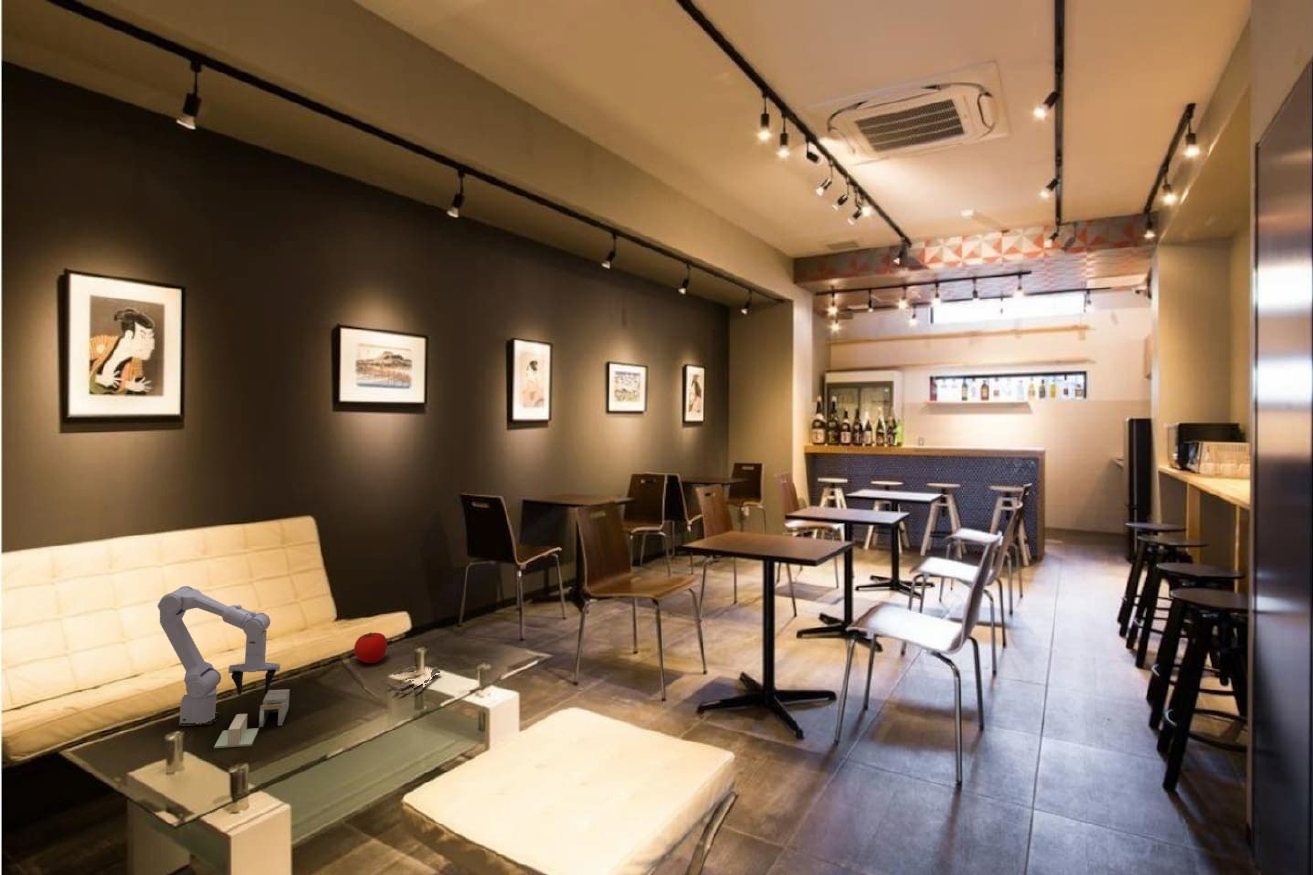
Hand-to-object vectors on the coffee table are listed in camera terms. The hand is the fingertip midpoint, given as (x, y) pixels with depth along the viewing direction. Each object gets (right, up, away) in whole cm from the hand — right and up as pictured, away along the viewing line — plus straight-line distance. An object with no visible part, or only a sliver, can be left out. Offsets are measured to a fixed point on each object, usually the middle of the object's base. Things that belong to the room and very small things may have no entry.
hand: (253, 692), depth 228 cm
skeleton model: (+38, -12, +38) cm, 55 cm away
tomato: (+15, -8, +57) cm, 59 cm away
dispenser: (+4, -10, +5) cm, 12 cm away
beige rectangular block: (+1, -10, -10) cm, 14 cm away
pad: (+1, -11, -10) cm, 15 cm away
